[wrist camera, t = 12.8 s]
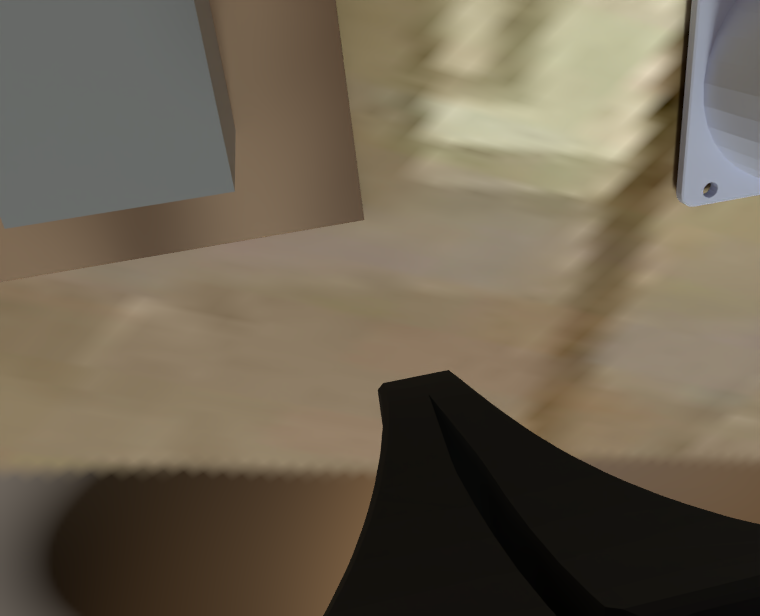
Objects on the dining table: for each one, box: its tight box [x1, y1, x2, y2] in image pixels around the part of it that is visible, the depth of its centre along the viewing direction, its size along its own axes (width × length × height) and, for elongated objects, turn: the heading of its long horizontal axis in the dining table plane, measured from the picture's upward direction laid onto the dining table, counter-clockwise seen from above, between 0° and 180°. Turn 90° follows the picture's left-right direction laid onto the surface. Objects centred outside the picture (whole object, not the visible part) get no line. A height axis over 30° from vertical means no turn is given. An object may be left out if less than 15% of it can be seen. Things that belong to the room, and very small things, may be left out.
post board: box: [0, 0, 364, 282], centre depth 16 cm, size 11×11×6 cm
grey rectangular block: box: [0, 0, 236, 229], centre depth 16 cm, size 4×4×6 cm
